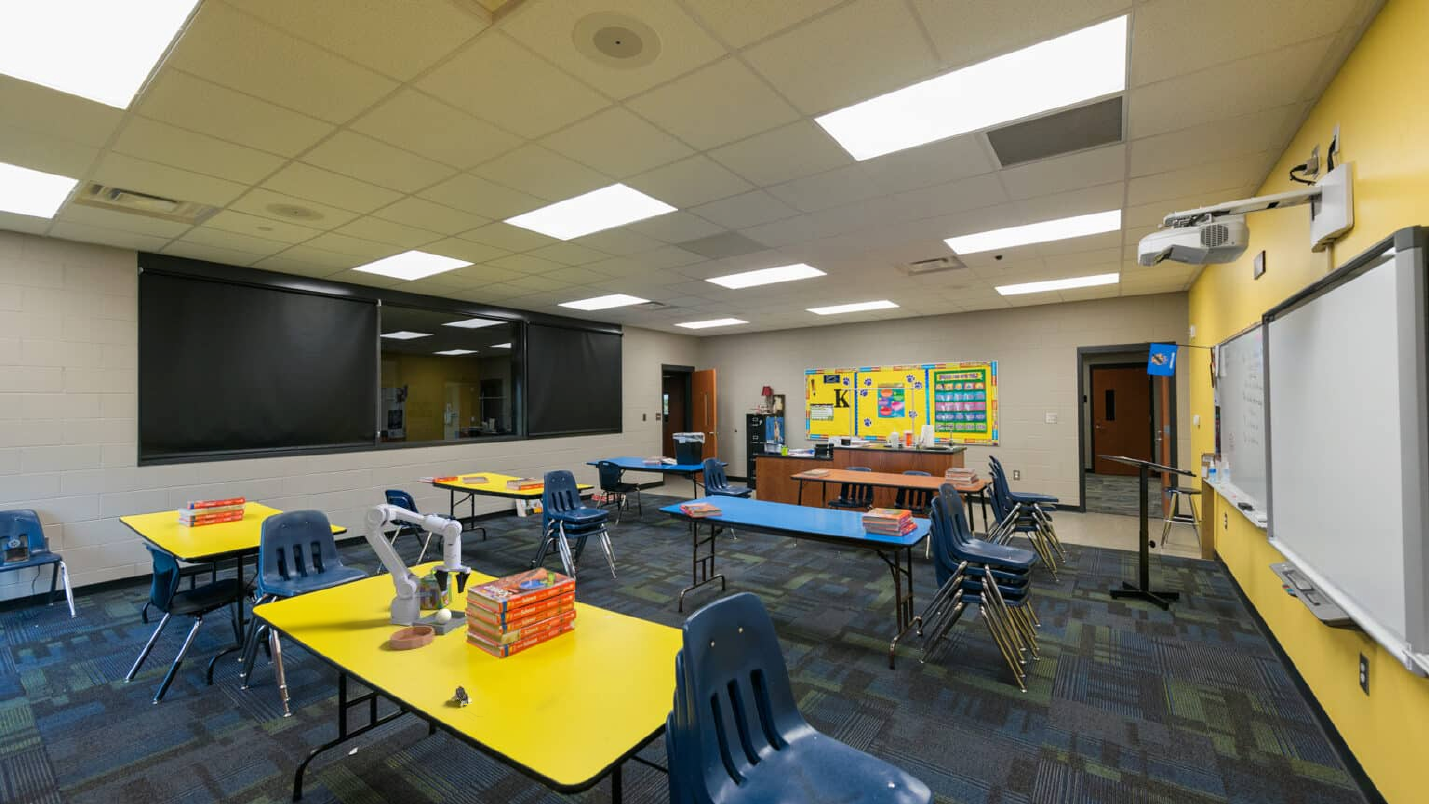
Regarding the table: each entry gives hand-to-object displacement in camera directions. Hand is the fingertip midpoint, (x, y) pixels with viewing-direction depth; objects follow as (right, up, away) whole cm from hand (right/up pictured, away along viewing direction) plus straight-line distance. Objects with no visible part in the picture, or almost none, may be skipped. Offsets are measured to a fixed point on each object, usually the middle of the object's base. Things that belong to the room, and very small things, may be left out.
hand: (452, 591), depth 208 cm
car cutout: (+34, -9, -64) cm, 73 cm away
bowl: (-3, -9, -23) cm, 24 cm away
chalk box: (-12, -10, +13) cm, 20 cm away
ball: (0, -6, -8) cm, 10 cm away
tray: (+1, -9, -8) cm, 12 cm away
